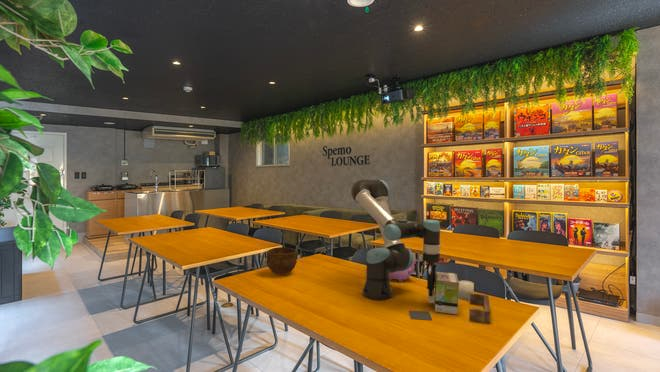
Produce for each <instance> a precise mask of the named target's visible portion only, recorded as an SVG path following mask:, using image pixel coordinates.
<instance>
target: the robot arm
mask: <svg viewBox="0 0 660 372" xmlns="http://www.w3.org/2000/svg"><path fill="white" fill-rule="evenodd" d="M350 195H351V198H352V199H353V201H354V202H355V203H356V204H357V205H359V206H361V207H363V209H364V210H365V211H366V212H367V213H368V214H369V215H370V216H371V217H372V219H374V220H375V221H376V222H377V225H378V228H379V231H380V234H381V238H382V241H383V243H384V247H375V248H371V249H369V250H368V251H367V253H366V258H365V261H366V272H365V273H366V277H365V278H366V279H365V283H364V285H363V289H362V296H364V297H365V298H366V299H370V300H375V301H376V300H377V301H385V300H389V299H391V298H393V289H392V286H391V282H390V280H389V273H393V272H398V271H404V270H408V269H409V268H410V267H411V266H412V263H413V260H414V254H413V252H412V250H411V249H410V248H408V247H406V245H405V243H404V242H403V241H401V240H404V239H405V240H406V239H412V238H413V239H414V238H417V239H418V238H419V239H423V240H422V242H423V243H422V248H423V249H422V251H423V254H422V255H423V256H422V259H423V261H424V262H426V263H427V264H426V280H427V281H426V282H427V287H426V290H427V302H428V303H432V304H435V300H434V297H435V296H434V295H435V275H436V272H437V271H436V268H437V265H436V264H435V263H439V262H440V261H441V260H440V259H441V257H440V256H441V255H440V254H441V253H440V252H441V250H440V249H442V246H441V222H440V220H437V219H424V220H423V222H418V221H415V220H413V221H412V220H410V221H408V220H407V221H406V222H399V221H398V220H397V219H396V218H395V217H394V216H393V215H392V214H391V211H390V207H389V205H388V203H387V202H388V200H389V196H390V187H389V184H388V183H387V182H386V181H385V180H383V179H378V178H377V179H359V180H357V181H355V182H354V183H353V184H352V186H351V189H350Z"/></svg>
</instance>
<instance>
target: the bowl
mask: <svg viewBox="0 0 660 372" xmlns="http://www.w3.org/2000/svg"><path fill="white" fill-rule="evenodd" d="M297 254H298V250H297V249H295V248H293V247H285V246H281V247H274V248H270V249H269V250H268V249H267V251H266V266H267V267H268V269H269V271H271V272H272V273H273V274H275V275H287V274H289V273H291V272H292V271H293V270H294V269H295V267H296V265H297V262H298V261H297V260H298V259H297V256H298V255H297Z"/></svg>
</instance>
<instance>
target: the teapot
mask: <svg viewBox="0 0 660 372" xmlns="http://www.w3.org/2000/svg"><path fill="white" fill-rule="evenodd" d="M417 261H418V259H413V263H412V266H411V267H410V268H409V269H408V270H404V271H398V272H393V273H389V281H392V279H393V280H397V281H398V283H403V282H404V280H409V278H410V277H411V276H412V274H413V273H414V271H415V268H416V266H415V265H416V264H415V263H416V262H417Z"/></svg>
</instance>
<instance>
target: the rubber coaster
mask: <svg viewBox="0 0 660 372" xmlns="http://www.w3.org/2000/svg"><path fill="white" fill-rule="evenodd" d="M408 313H409V317H410V320H419V321H433V319H432V315H431V313H430V311H427V310H410V309H409V310H408Z"/></svg>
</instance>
